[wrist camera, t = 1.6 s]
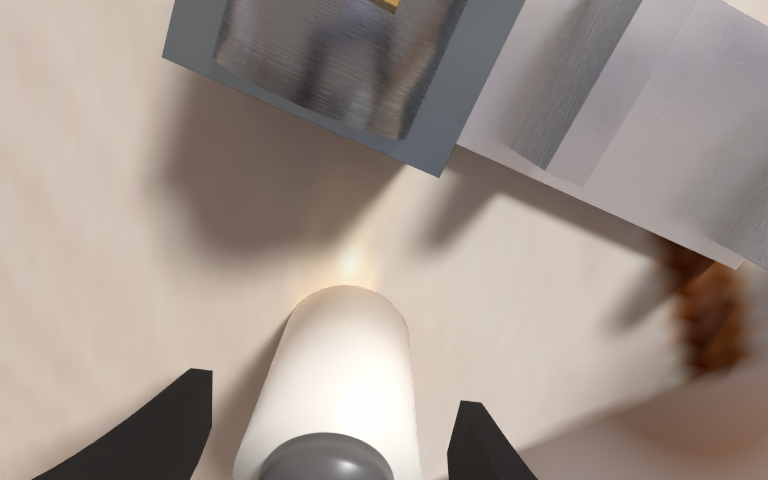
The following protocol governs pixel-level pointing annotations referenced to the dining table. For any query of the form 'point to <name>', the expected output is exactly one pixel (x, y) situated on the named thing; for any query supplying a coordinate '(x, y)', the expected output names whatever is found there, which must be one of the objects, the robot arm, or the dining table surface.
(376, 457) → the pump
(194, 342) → the dining table surface
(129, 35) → the dining table surface
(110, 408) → the dining table surface
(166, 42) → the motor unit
